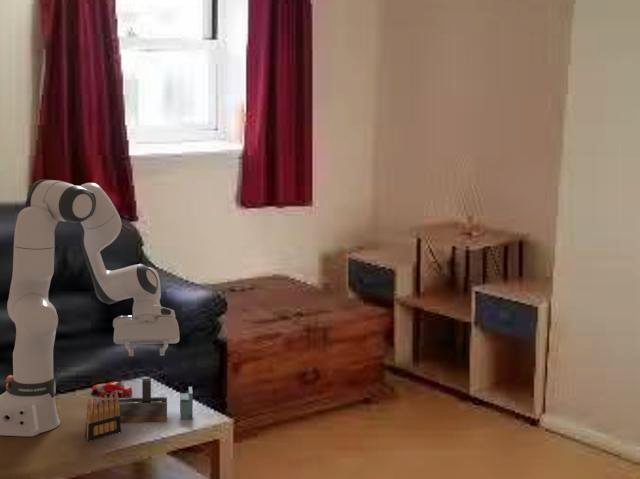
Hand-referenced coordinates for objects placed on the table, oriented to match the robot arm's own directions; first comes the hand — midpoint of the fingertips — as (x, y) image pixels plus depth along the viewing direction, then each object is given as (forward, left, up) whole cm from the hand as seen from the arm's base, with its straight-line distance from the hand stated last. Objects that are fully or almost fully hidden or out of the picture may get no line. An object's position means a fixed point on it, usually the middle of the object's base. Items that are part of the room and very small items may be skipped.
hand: (146, 354), depth 301 cm
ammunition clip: (-12, -25, -16) cm, 32 cm away
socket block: (+12, -11, -16) cm, 23 cm away
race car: (-11, +10, -16) cm, 22 cm away
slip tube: (-3, -11, -14) cm, 18 cm away
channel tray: (-5, -11, -16) cm, 20 cm away
